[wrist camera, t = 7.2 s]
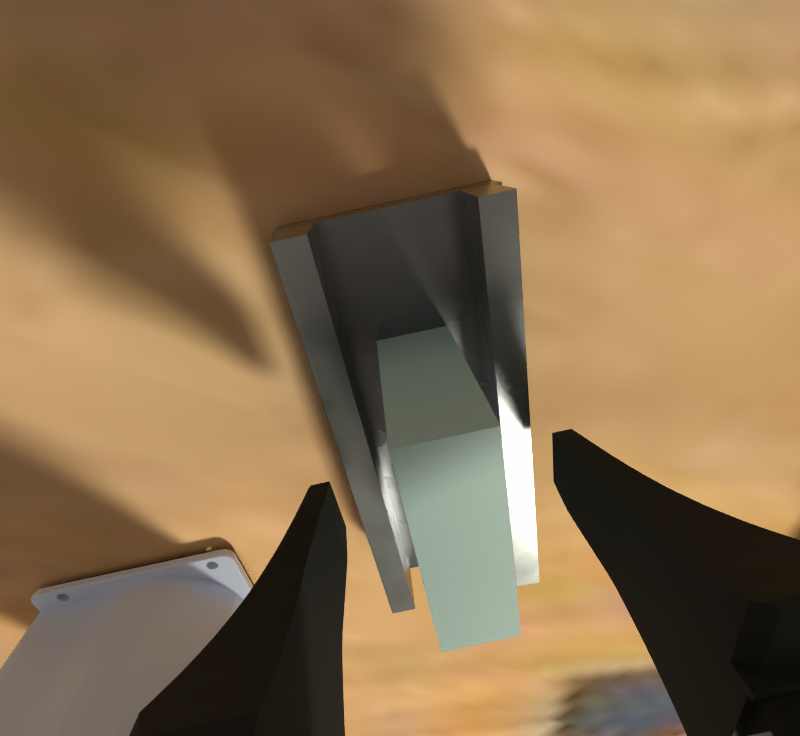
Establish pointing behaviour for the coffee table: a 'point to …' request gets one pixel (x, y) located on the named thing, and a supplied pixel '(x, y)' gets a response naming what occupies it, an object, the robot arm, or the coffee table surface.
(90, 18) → the coffee table surface
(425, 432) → the door panel
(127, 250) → the coffee table surface
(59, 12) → the coffee table surface
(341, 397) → the floor track
